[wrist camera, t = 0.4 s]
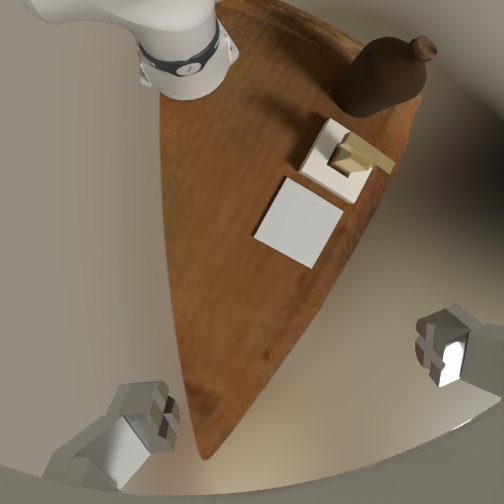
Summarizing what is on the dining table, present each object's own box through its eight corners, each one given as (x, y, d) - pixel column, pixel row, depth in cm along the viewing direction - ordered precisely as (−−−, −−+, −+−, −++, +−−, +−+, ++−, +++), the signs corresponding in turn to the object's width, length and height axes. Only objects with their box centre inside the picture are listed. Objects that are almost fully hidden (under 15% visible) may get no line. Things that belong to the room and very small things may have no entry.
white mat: (253, 236, 54) (253, 237, 54) (286, 177, 53) (287, 177, 52) (310, 267, 56) (311, 268, 55) (342, 211, 55) (343, 211, 54)
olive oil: (344, 127, 52) (417, 89, 27) (321, 78, 50) (376, 13, 25) (388, 113, 52) (469, 79, 27) (365, 67, 50) (433, 11, 25)
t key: (314, 158, 52) (342, 146, 38) (323, 142, 52) (353, 127, 38) (350, 181, 54) (387, 178, 40) (358, 166, 53) (396, 159, 39)
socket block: (297, 171, 53) (301, 170, 50) (325, 121, 51) (330, 118, 48) (347, 202, 54) (354, 203, 51) (373, 154, 53) (380, 152, 50)
